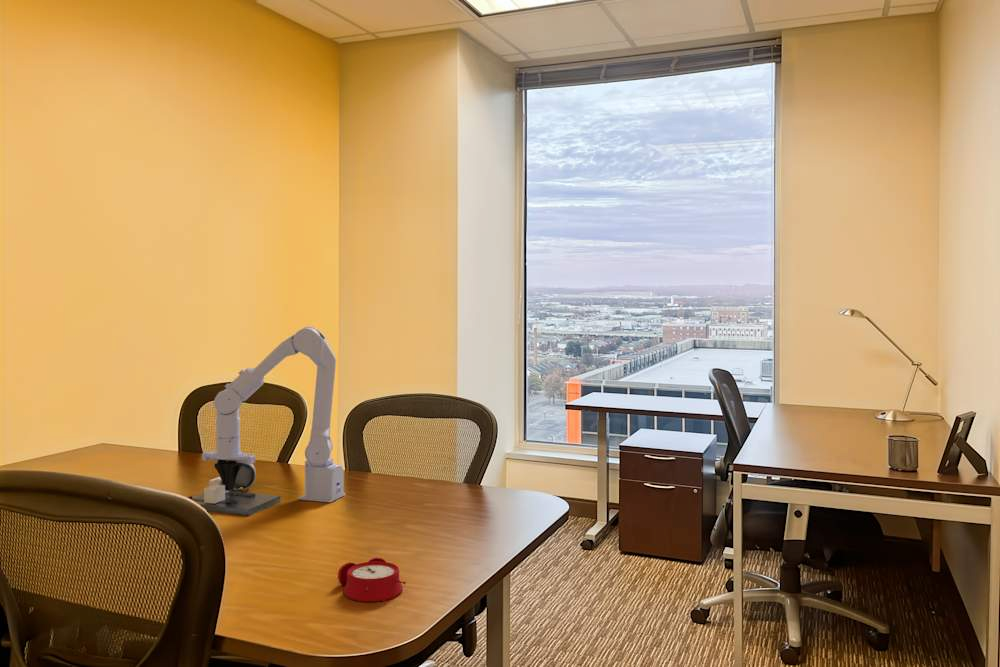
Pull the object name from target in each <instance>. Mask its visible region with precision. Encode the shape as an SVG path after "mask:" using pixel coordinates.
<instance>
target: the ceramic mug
mask: <svg viewBox="0 0 1000 667" xmlns="http://www.w3.org/2000/svg"><path fill="white" fill-rule="evenodd" d="M256 480H257V473H256V467H255V465H254V463H253V464H247V463H243V464H242V466H241V468H240V470H239V472H238V474H237V477H236V480H235V484H234V489H232V491H233V490H234V491H236V490H244V491H246V490H249V489H250V488H251V487H252V486H253V485H254V484H255V482H256ZM240 487H243V489H239V488H240Z"/></svg>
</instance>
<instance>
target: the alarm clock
mask: <svg viewBox="0 0 1000 667" xmlns="http://www.w3.org/2000/svg"><path fill="white" fill-rule="evenodd" d="M337 579H338V583H339V584H340V585H342V586H343V584H344V583H346V584H344V588H343V595H344V596H345V598H348V599H350V600H352V601H357V602H366V603H369V602H370V603H372V602H381V601H382V603H386V602H388V600H390V599H394V598H396V597H397V596H399V595H400V594H401V593H402V592H403V590H404V589H403V588H404V587H403V585H406V581H401V580H400V569H399V566H397V565H396V564H394V563H391V562H388V561H386V560H385V559H384V558H382V557H372V558H371V559H369V560H368V561H364V562H362V563H361V562H360V563H354V562H346V563H344V564H342V565H341V566H340V568H339V570H338V573H337Z"/></svg>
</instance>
